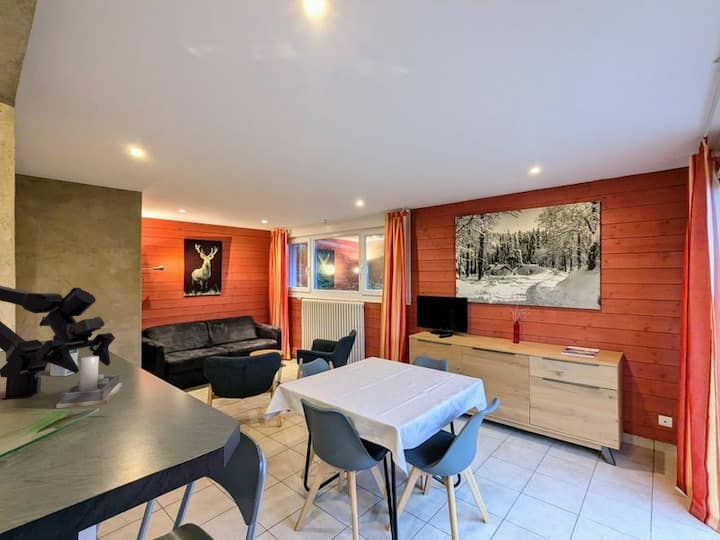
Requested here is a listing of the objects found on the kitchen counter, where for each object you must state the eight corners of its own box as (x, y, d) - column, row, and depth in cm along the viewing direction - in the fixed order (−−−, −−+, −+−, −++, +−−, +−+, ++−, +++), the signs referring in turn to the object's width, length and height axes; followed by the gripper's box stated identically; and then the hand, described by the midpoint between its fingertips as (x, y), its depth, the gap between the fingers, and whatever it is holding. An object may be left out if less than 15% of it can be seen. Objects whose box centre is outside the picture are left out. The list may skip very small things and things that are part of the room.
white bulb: (71, 400, 94) (74, 360, 94) (78, 394, 99) (81, 356, 100) (97, 398, 96) (99, 358, 97) (102, 392, 101) (104, 355, 102)
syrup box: (65, 376, 122) (68, 335, 123) (49, 376, 122) (52, 334, 123) (78, 372, 128) (81, 333, 129) (63, 372, 128) (66, 332, 129)
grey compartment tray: (56, 408, 91) (57, 388, 91) (79, 389, 108) (80, 372, 108) (106, 403, 95) (107, 385, 96) (121, 385, 112) (122, 370, 112)
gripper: (47, 310, 91) (78, 355, 88) (112, 306, 109) (139, 344, 106) (22, 338, 92) (51, 384, 89) (90, 330, 110) (116, 368, 107)
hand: (93, 368), depth 98 cm, fingers open, 9 cm apart
